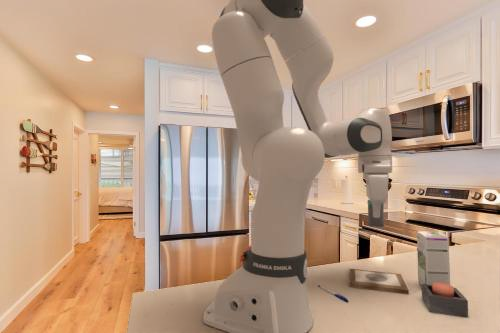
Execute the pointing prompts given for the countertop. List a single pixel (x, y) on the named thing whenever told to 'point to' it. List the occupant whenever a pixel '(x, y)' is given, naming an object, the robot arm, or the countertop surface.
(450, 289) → the button
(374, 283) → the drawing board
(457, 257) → the countertop surface
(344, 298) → the ballpoint pen
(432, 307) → the button housing
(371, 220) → the grey and teal cylinder
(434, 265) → the syrup box
